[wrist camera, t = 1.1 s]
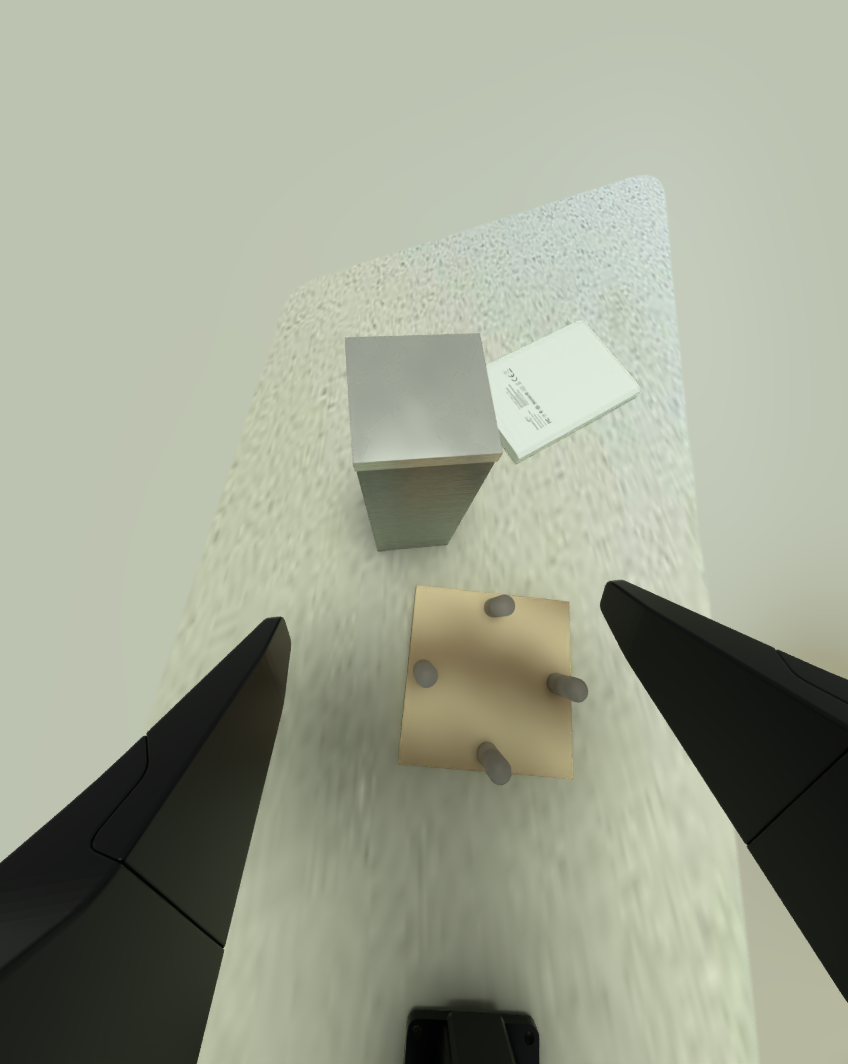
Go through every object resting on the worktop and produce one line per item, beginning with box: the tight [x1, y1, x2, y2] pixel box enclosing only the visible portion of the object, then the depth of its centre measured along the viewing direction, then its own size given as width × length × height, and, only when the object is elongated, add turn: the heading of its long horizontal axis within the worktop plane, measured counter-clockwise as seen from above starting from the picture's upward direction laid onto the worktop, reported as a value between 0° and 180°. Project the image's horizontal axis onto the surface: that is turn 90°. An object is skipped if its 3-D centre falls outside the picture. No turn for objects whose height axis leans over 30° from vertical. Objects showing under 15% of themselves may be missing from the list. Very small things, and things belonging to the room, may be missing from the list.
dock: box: [398, 585, 588, 785], centre depth 20 cm, size 10×10×4 cm
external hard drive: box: [486, 320, 641, 464], centre depth 28 cm, size 2×8×12 cm
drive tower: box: [345, 333, 503, 551], centre depth 18 cm, size 5×5×13 cm
